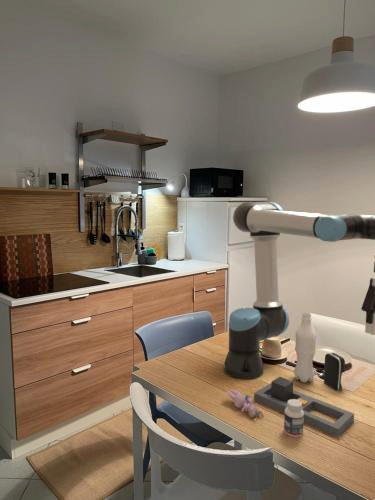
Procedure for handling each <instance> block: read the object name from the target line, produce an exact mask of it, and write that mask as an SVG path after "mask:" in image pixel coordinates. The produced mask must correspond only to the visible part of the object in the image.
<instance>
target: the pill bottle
mask: <svg viewBox="0 0 375 500" xmlns="http://www.w3.org/2000/svg"><path fill="white" fill-rule="evenodd" d="M283 417H284V421H283V422H284V423H283V430H284V433H285V434H286V435H287V436H289V437H292V438H300V437H302V436H303V434H304V412H303V410H302V402H301V401H299V400H296V399H290V400H288V402H287V408H286V409H285V414H284V416H283Z"/></svg>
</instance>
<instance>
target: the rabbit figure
mask: <svg viewBox="0 0 375 500" xmlns="http://www.w3.org/2000/svg"><path fill="white" fill-rule="evenodd" d="M226 394H227V395H228V396H229V398H230V399H231V400H232V401H233V402H234V405H235V407H236V408H238V409H241V412H245V411H246V412H248V416H249V417H250V418H252V419H254V418H255V421H258V417H259V416H260V415H261V418H260V419H263V418H265V416H264V413H263V412H262V411H261V410H259V408H258V404H254V403H253V402H252V400H251V399H250V395H249V394H246V395H244V394H242V393H241V392H240V391H239V390H237V389H230V390H229V391H226ZM244 410H245V411H244Z"/></svg>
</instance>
